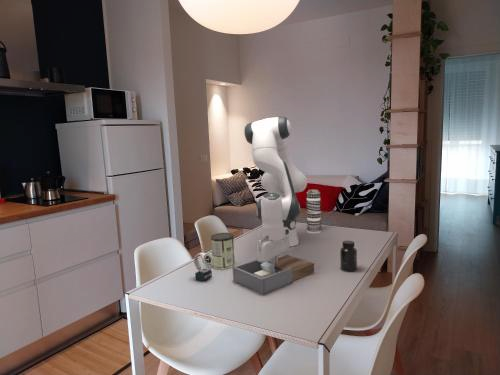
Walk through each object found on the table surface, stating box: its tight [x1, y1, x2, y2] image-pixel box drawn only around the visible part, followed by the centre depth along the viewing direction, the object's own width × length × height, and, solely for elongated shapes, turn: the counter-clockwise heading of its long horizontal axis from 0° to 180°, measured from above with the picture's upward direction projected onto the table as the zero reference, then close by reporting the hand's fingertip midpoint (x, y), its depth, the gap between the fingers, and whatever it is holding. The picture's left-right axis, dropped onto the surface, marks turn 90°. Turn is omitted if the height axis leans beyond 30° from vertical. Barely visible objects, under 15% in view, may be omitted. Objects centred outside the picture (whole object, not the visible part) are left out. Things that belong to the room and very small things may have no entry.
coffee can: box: [210, 232, 236, 270], centre depth 167 cm, size 10×10×14 cm
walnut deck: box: [267, 254, 315, 282], centre depth 156 cm, size 16×14×4 cm
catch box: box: [232, 258, 294, 296], centre depth 147 cm, size 18×16×6 cm
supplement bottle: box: [339, 240, 358, 273], centre depth 156 cm, size 7×7×12 cm
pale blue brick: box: [261, 262, 276, 275], centre depth 150 cm, size 5×5×2 cm
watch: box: [193, 252, 213, 283], centre depth 152 cm, size 6×8×11 cm
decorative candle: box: [305, 189, 322, 234], centre depth 216 cm, size 9×9×25 cm
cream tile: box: [254, 270, 271, 278], centre depth 147 cm, size 5×5×2 cm
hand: (274, 266), depth 150 cm, fingers closed
